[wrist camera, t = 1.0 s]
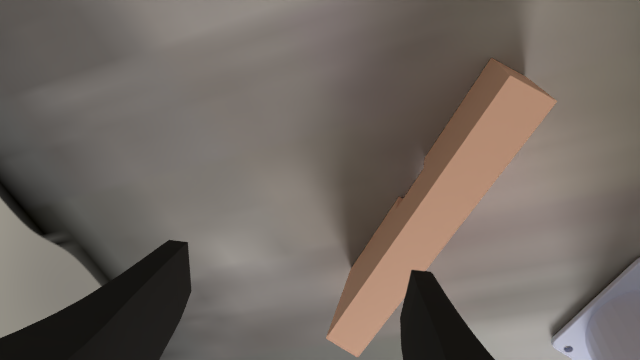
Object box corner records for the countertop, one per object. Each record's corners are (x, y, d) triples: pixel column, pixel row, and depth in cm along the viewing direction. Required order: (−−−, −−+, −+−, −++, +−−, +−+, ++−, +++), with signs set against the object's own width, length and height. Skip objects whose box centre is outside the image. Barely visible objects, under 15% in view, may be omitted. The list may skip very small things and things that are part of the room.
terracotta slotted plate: (491, 57, 22) (510, 75, 16) (524, 76, 22) (557, 101, 16) (351, 268, 29) (325, 338, 23) (376, 283, 29) (357, 357, 23)
